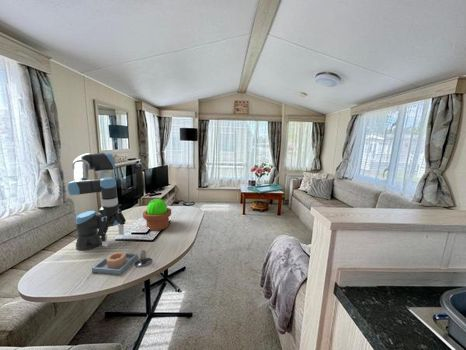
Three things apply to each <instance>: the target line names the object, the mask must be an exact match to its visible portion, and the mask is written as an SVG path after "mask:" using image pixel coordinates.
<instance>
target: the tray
mask: <svg viewBox="0 0 466 350" xmlns="http://www.w3.org/2000/svg"><path fill="white" fill-rule="evenodd" d="M116 252H117V251H112V252H110V253H109V254H108V255H107V256H106V257H108V256H109V255H110V254H112V253H116ZM125 255H126V264H125V265H123V266H122V267H120V268H117V269H109V268H108V267H107V260H106V257H104V258H103V259H101V260H100V261H99V262H98V263H96V264H94V265H93V266H92V267H91V273H92V274H107V275H117V276H118V275H119V276H121V275H122V274H123V273H124V272H125V271H127V269H128V268H129V267H130V266H131V265H132V264H133V263H135V262H136V260H138V258H139V254H138V253H131V252H125Z"/></svg>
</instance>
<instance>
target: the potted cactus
mask: <svg viewBox="0 0 466 350" xmlns="http://www.w3.org/2000/svg"><path fill="white" fill-rule="evenodd" d="M171 215H172V209H171V208H170V207H168V206H167V204H166V201H164V199H161V198H155V199H152V200H150V201H149V203H148V204H147V206H146V209H145V210H144V211H143V213H142V218H143V219H144V220H145V221H146V228H147V227H149V228H150V230H149V231H154V230H157V231H160V230H159V229H162V230H165V229H166V228H168V227H169V226H170V221H169V220H170V218H169V217H171Z"/></svg>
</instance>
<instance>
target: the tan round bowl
mask: <svg viewBox="0 0 466 350" xmlns="http://www.w3.org/2000/svg"><path fill="white" fill-rule="evenodd" d="M115 252H116V253H112V252H111V253H112V254H111V253H109V254H110V255H109V254H108V255H109V256H108V255H107V256H108V257H107V256H106V260H107V267H108V268H109V269H117V268H120V267H122V266H123V265H125V264H126V255H125V253H126V252H125V251H115Z"/></svg>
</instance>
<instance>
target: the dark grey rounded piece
mask: <svg viewBox="0 0 466 350" xmlns="http://www.w3.org/2000/svg"><path fill="white" fill-rule="evenodd" d="M139 254H140V255H139V256H140V259H137V261H136V260H135V261H134V267H135V268H139V269H141V268H142V269H143V268H146V267H148V266H149V267H150V265H151V264H152V263H153V259H152V258H151V257H150V258H149V257H147V252H146V250H141V251H140V253H139Z"/></svg>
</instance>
